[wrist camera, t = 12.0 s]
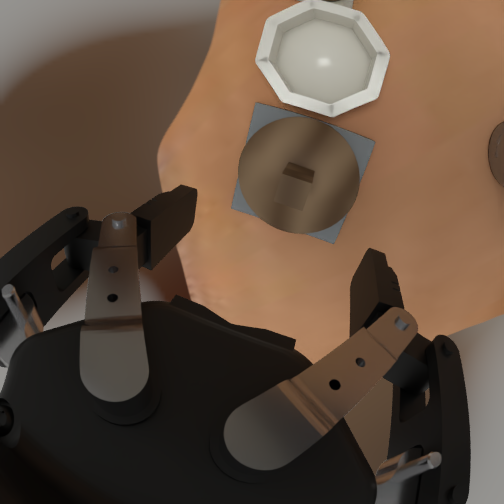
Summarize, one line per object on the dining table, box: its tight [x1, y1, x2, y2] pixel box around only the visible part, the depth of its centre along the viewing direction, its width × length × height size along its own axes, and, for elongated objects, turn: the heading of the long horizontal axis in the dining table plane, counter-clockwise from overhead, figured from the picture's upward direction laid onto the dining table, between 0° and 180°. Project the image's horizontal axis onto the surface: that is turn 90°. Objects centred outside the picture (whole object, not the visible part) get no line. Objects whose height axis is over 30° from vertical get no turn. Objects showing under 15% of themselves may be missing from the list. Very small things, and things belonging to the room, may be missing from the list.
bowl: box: [255, 0, 390, 117], centre depth 21 cm, size 12×12×5 cm
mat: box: [231, 103, 375, 244], centre depth 31 cm, size 14×14×1 cm
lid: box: [238, 117, 360, 234], centre depth 28 cm, size 14×14×6 cm
